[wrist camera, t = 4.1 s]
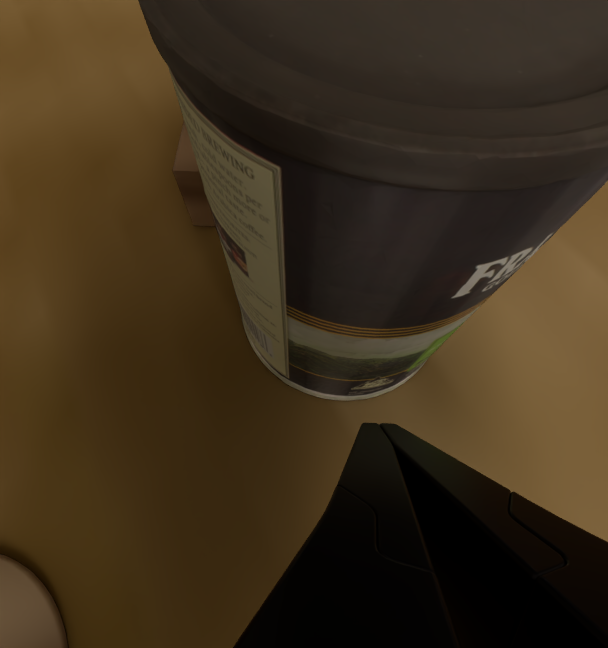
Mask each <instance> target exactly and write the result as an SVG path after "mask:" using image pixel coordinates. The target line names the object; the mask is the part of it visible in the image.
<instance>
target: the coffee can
mask: <svg viewBox="0 0 608 648" xmlns="http://www.w3.org/2000/svg"><path fill="white" fill-rule="evenodd" d="M138 1H139V4H140V7H141V9H142V12H143V15H144V17H145V20H146V23H147V26H148V28H149V31H150V34H151V36H152V39H153V41H154V43H155V45H156V47H157V49H158V51H159V53H160V54H161V56H162V58H163V59H164V60H165V62H166V63H167V65H168V67H169V71H170V74H171V77H172V81H173V84H174V88H175V91H176V94H177V98H178V101H179V105H180V108H181V111H182V115H183V118H184V121H185V125H186V128H187V132H188V135H189V138H190V142H191V145H192V148H193V152H194V155H195V158H196V162H197V165H198V168H199V172H200V175H201V178H202V182H203V185H204V191H205V194H206V197H207V199H208V202H209V205H210V208H211V212H212V216H213V221H214V223H215V226H216V229H217V232H218V235H219V238H220V241H221V244H222V248H223V251H224V255H225V258H226V261H227V265H228V268H229V272H230V275H231V278H232V282H233V286H234V289H235V293H236V296H237V299H238V302H239V305H240V309H241V314H242V322H243V325H244V329H245V332H246V335H247V338H248V340H249V342H250V344H251V346H252V348H253V350H254V351H255V353H256V354H257V356H258V357H259V359H260V360H261V361H262V362H263V364H264V365H265V366H266V367H267V368H268V369H269V370H270V371H271V372H272V373H273V374H275V375H276V376H277V377H278V378H280V379H281V380H282V381H283V382H284V383H286V384H288V385H289V386H291V387H293V388H296V389H298V390H300V391H302V392H304V393H307V394H309V395H313V396H316V397H320V398H324V399H331V400H344V401H349V400H361V399H368V398H372V397H376V396H379V395H381V394H384V393H387V392H389V391H391V390H393V389H395V388H397V387H398V386H400V385H402V384H403V383H405V382H406V381H407V380H409V379H410V378H411V377H412V376H414V375H415V373H416V372H417V371H418V370H419V369H420V368H421V367H422V366H423V365H424V363H425V362H426V361H427V360H428V358H429V357H430V356H431V355H432V354H433V353H434V352H435V351H436V350H437V349H438V348H439V347H440V346H441V345H442V344H443V343H444V342H445V341H446V340H447V339H448V338H449V337H450V336H451V335H452V334H453V333H454V332H455V331H456V330H457V329H458V328H459V327H460V326H461V325H462V324H463V323H464V322H465V321H466V320H467V319H468V318H469V317H470V316H471V315H472V314H473V313H474V312H475V311H476V310H477V309H478V308H479V307H480V306H481V305H482V304H483V303H484V302H485V301H486V300H487V299H488V298H489V297H490V296H491V295H492V294H493V293H494V292H495V291H496V290H497V289H498V288H499V287H500V286H501V285H503V284H504V283H505V282H506V281H507V280H508V279H509V278H510V277H511V276H512V275H513V274H514V273H515V272H516V271H517V270H518V269H519V268H520V267H521V266H522V265H523V264H524V263H525V262H526V261H527V260H528V259H529V258H530V257H531V256H532V255H533V254H535V253H536V251H537V250H538V249H539V248H540V247H541V246H542V245H543V244H544V243H545V242H547V241H548V240H549V239H550V238H551V237H552V236H553V235H554V234H555V232H556V231H557V230H558V229H559V228H560V227H561V226H562V225H563V224H564V223H566V222H567V221H568V220H569V219H570V218H571V217H572V216H573V215H574V214H575V213H576V212H577V211H578V210H579V209H580V208H581V207H582V206H583V205H584V204H585V203H586V202H587V201H588V200H589V199H590V198H591V197H592V196H593V195H594V194H595V193H596V192H597V191H598V190H599V189H600V188H601V187H602V186H603V185H604V184H605V183H606V182H607V180H608V0H138Z"/></svg>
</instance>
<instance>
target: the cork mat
mask: <svg viewBox="0 0 608 648" xmlns="http://www.w3.org/2000/svg"><path fill="white" fill-rule="evenodd" d="M0 648H68V643H67V637H66V632H65V628H64V625H63V622H62V619H61V615H60V612H59V610H58V608H57V606H56V604H55V602H54V600H53V598H52V596H51V594H50V593H49V592H48V590H47V589H46V587H45V586H44V584H43V583H42V582H41V581H40V580H39V579H38V578H37V577H36V576H35V574H34V573H33V572H32V571H30V570H29V569H28V568H26V567H25V566H23V565H22V564H21V563H19V562H18V561H16V560H13V559H11V558H9V557H7V556H5V555H2V554H0Z"/></svg>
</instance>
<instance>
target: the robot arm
mask: <svg viewBox="0 0 608 648" xmlns="http://www.w3.org/2000/svg"><path fill="white" fill-rule="evenodd" d="M233 648H608V542H607V541H605V540H603V539H601V538H599V537H597V536H595V535H593V534H591V533H589V532H587V531H585V530H583V529H581V528H579V527H577V526H575V525H573V524H572V523H570V522H568V521H566V520H564V519H562V518H560V517H558V516H556V515H554V514H553V513H551V512H549V511H547V510H545V509H544V508H542V507H540V506H538V505H536V504H535V503H533V502H531V501H529V500H527V499H526V498H524V497H522V496H521V495H519V494H517V493H515V492H511V491H510V490H509V489H507V488H505V487H504V486H502V485H500V484H499V483H497V482H495V481H493V480H492V479H490V478H488V477H486V476H485V475H483V474H481V473H479V472H478V471H476V470H474V469H472V468H471V467H469V466H467V465H466V464H464V463H462V462H460V461H459V460H457V459H455V458H453V457H452V456H450V455H448V454H446V453H445V452H443V451H441V450H440V449H438V448H436V447H434V446H433V445H431V444H429V443H427V442H426V441H424V440H422V439H420V438H419V437H417V436H415V435H414V434H412V433H410V432H408V431H407V430H405V429H403V428H401V427H400V426H398V425H396V424H388V423H381V424H377V423H362V425H361V427H360V430H359V432H358V434H357V437H356V439H355V442H354V444H353V447H352V449H351V452H350V454H349V457H348V459H347V462H346V464H345V467H344V469H343V472H342V474H341V476H340V479H339V481H338V484H337V486H336V488H335V490H334V493H333V495H332V497H331V500H330V502H329V504H328V506H327V508H326V510H325V512H324V513H323V515H322V517H321V518H320V520H319V522H318V523H317V525H316V527H315V528H314V530H313V531H312V532H311V534H310V535H309V537H308V538H307V540H306V541H305V543H304V544H303V546H302V547H301V549H300V550H299V551H298V553H297V554H296V556H295V557H294V559H293V560H292V562H291V563H290V565H289V566H288V568H287V569H286V571H285V572H284V573H283V575H282V576H281V578H280V579H279V581H278V582H277V584H276V585H275V587H274V588H273V590H272V591H271V593H270V594H269V595H268V597H267V598H266V600H265V601H264V603H263V604H262V606H261V607H260V609H259V610H258V612H257V613H256V614H255V616H254V617H253V619H252V620H251V622H250V623H249V625H248V626H247V628H246V629H245V631H244V632H243V634H242V635H241V636H240V638H239V639H238V641H237V642H236V644H235V645H234V647H233Z"/></svg>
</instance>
